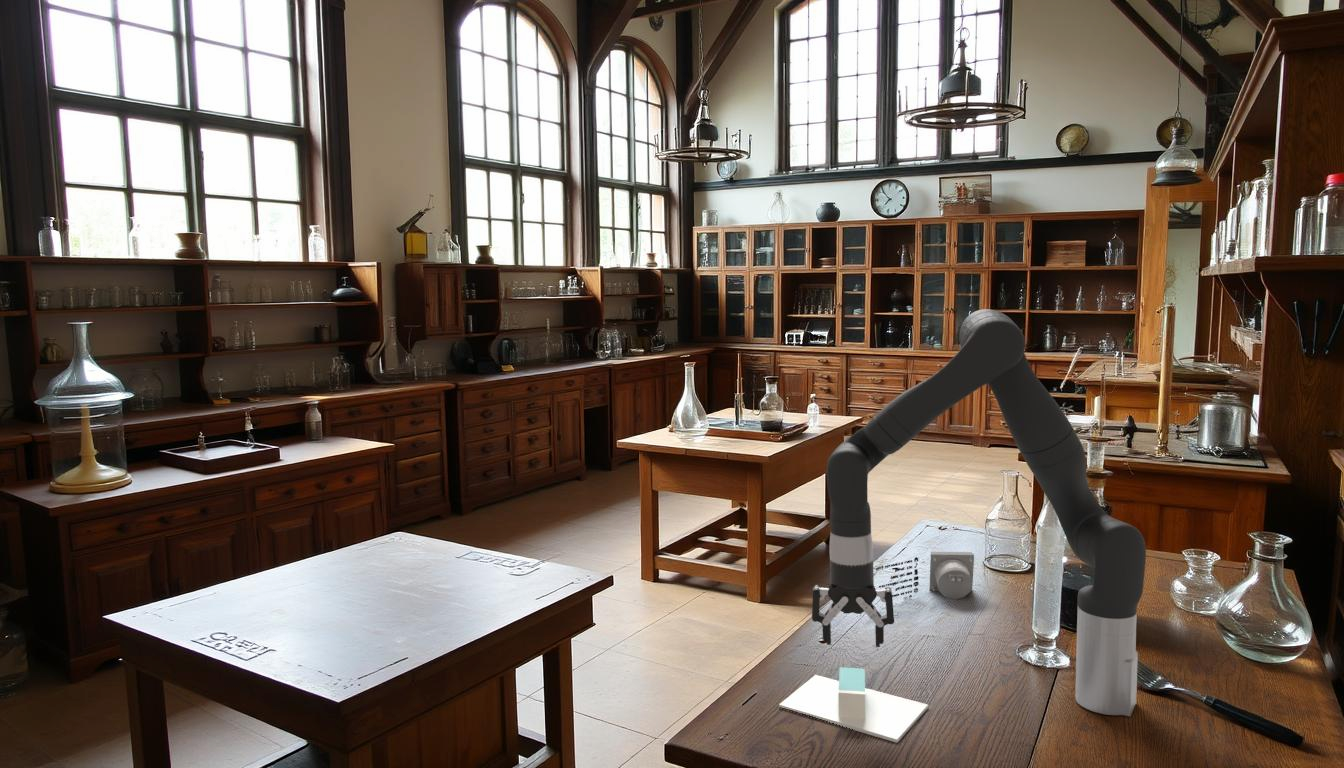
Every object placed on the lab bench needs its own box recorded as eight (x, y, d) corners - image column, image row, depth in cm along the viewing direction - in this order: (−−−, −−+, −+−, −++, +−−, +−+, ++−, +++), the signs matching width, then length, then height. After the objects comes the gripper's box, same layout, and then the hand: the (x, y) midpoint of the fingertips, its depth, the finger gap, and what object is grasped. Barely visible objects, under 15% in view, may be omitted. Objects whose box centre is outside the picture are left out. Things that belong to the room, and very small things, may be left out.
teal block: (864, 668, 160) (865, 694, 150) (864, 692, 161) (865, 719, 151) (839, 667, 161) (838, 692, 151) (839, 690, 162) (838, 717, 152)
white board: (928, 707, 155) (928, 704, 155) (897, 742, 144) (897, 739, 144) (815, 677, 168) (815, 674, 168) (779, 707, 157) (779, 704, 157)
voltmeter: (953, 582, 217) (953, 543, 216) (989, 596, 207) (989, 556, 206) (867, 603, 205) (867, 562, 204) (901, 619, 195) (901, 576, 194)
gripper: (809, 562, 153) (812, 651, 155) (893, 564, 150) (895, 655, 152) (811, 549, 161) (814, 634, 163) (892, 550, 158) (893, 637, 160)
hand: (853, 644), depth 158 cm, fingers open, 8 cm apart
